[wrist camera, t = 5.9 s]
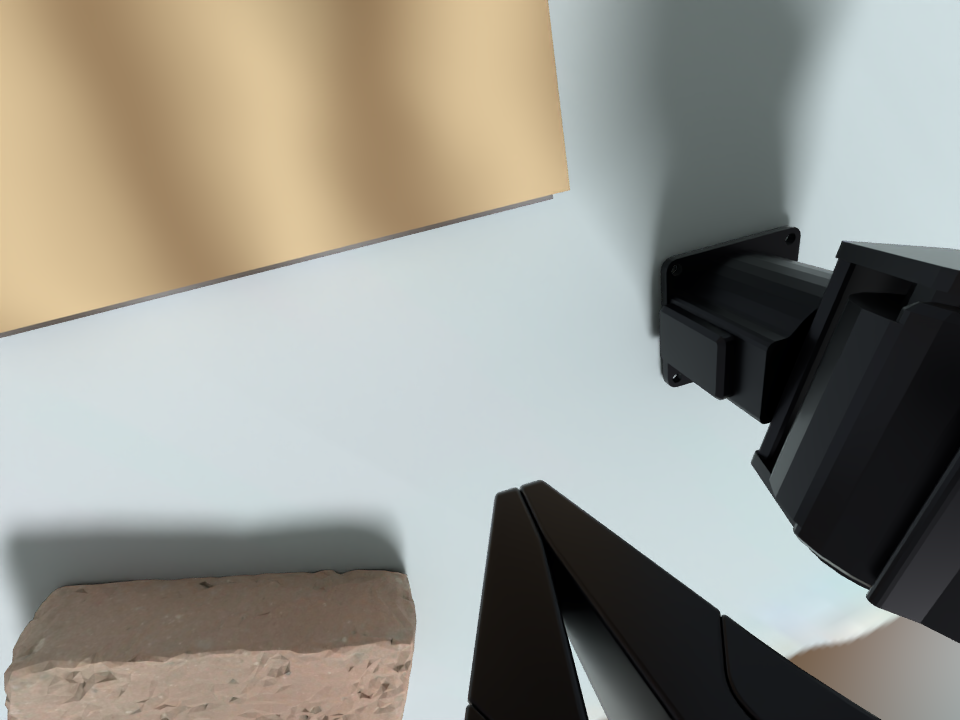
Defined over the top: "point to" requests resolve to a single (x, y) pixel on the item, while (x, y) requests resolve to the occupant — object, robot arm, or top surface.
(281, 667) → the brick
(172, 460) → the top surface
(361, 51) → the oak plank
